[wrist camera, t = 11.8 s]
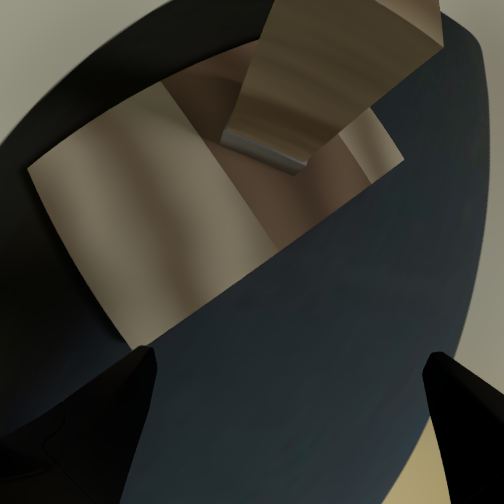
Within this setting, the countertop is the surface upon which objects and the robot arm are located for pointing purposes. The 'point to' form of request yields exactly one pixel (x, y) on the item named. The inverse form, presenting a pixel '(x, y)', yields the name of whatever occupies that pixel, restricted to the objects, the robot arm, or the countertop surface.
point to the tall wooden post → (325, 72)
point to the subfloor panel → (189, 195)
